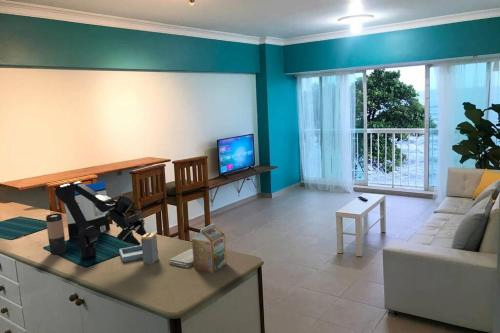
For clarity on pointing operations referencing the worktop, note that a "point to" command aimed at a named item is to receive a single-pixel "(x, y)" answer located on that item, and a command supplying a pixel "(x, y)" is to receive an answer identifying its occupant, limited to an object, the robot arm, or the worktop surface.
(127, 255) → the tray
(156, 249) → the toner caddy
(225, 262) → the milk carton
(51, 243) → the travel mug
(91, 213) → the protein powder
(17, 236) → the worktop surface
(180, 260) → the washcloth
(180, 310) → the worktop surface
